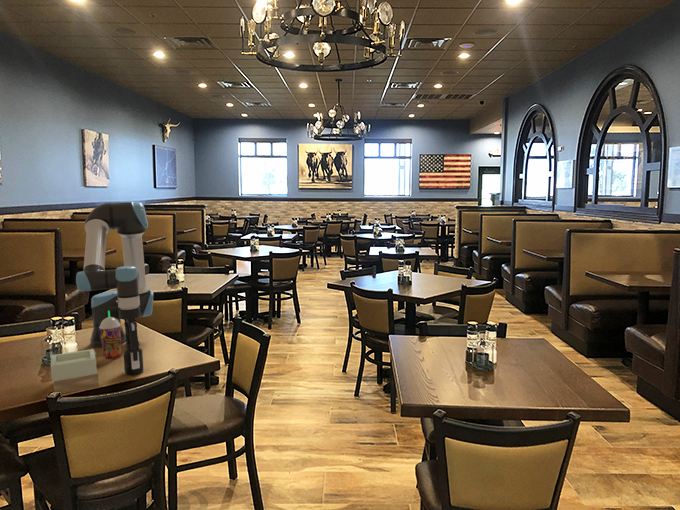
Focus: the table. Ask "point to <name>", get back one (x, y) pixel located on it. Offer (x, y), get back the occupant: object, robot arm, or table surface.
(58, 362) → the tower top block
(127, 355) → the supplement bottle
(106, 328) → the smoothie
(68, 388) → the tower base block
